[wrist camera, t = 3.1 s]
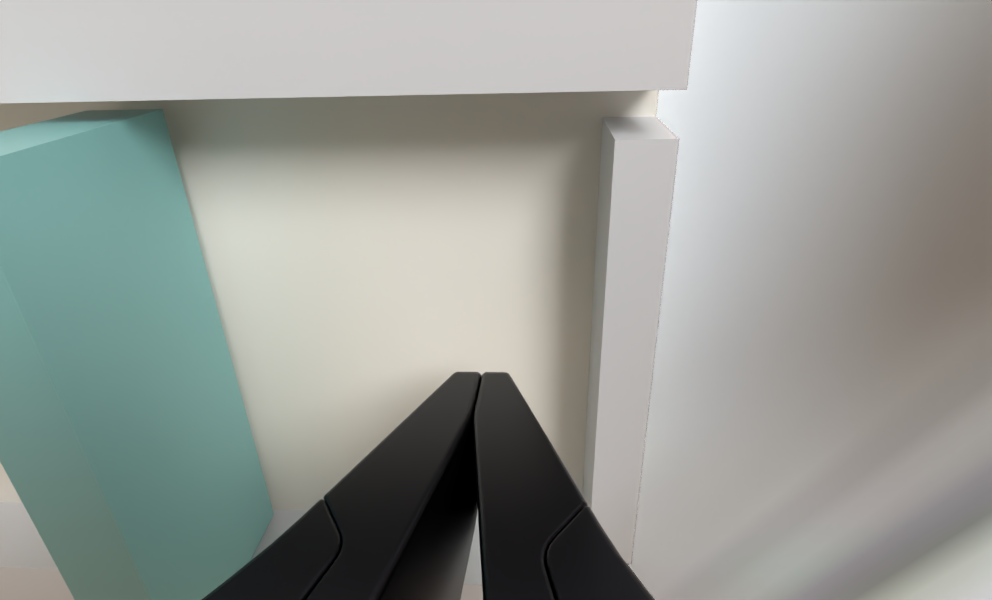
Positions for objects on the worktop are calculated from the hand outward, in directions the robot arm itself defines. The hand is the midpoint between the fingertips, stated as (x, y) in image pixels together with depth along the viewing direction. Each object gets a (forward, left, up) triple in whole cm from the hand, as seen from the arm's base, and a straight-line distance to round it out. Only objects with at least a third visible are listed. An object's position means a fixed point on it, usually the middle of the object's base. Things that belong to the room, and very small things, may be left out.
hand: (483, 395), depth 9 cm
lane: (+6, 0, -2) cm, 6 cm away
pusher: (+9, 0, -1) cm, 9 cm away
